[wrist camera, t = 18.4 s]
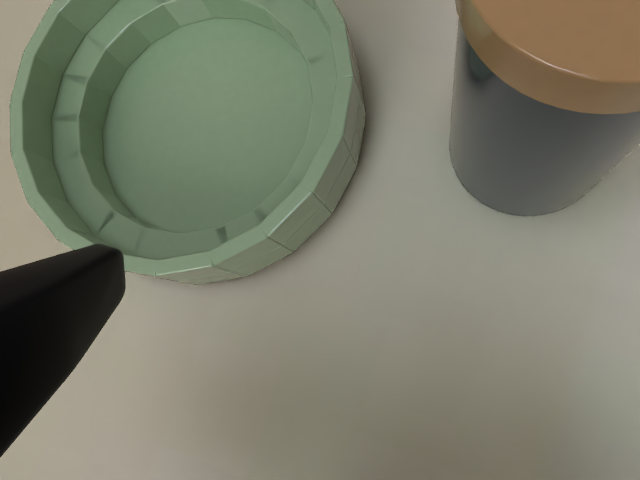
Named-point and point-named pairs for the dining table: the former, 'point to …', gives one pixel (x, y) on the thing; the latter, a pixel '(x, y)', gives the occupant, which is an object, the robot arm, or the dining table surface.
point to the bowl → (187, 129)
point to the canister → (543, 99)
